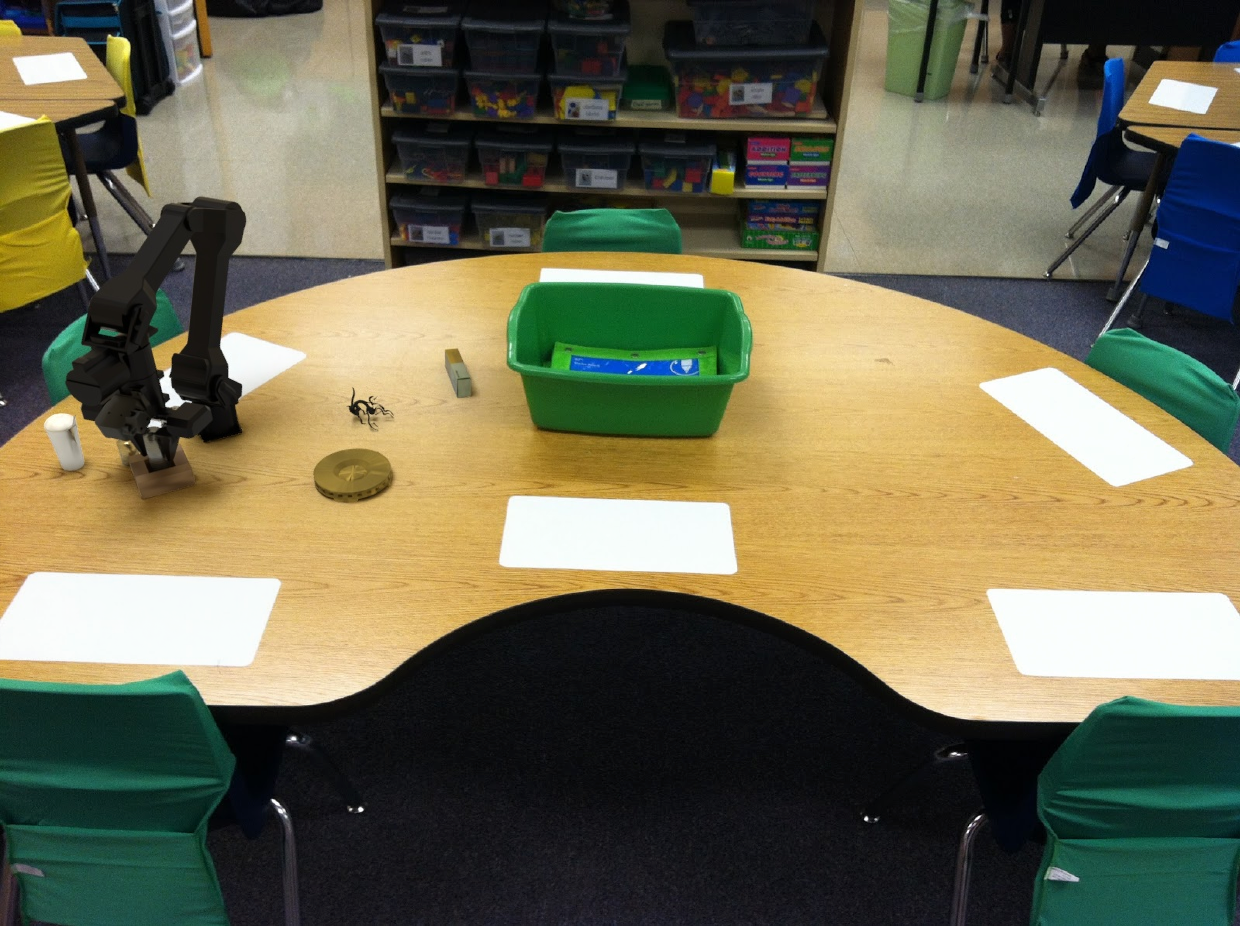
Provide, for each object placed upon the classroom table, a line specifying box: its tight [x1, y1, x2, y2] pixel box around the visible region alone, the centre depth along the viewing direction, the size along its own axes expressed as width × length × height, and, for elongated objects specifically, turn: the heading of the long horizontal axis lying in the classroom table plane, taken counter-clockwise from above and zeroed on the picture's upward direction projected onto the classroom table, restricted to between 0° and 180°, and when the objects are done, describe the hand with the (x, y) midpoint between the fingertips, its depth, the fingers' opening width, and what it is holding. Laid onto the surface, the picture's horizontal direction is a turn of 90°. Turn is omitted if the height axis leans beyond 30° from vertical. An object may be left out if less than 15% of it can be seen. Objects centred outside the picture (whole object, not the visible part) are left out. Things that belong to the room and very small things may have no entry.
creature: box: [346, 387, 395, 431], centre depth 180 cm, size 8×5×8 cm
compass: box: [313, 448, 393, 503], centre depth 166 cm, size 12×12×2 cm
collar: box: [128, 443, 197, 500], centre depth 164 cm, size 8×8×3 cm
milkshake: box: [43, 413, 85, 472], centre depth 163 cm, size 4×5×10 cm
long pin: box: [142, 425, 171, 472], centre depth 162 cm, size 3×3×9 cm
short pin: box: [116, 439, 140, 468], centre depth 167 cm, size 3×3×4 cm
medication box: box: [444, 348, 472, 399], centre depth 192 cm, size 12×3×4 cm, turn 19°
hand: (158, 457), depth 162 cm, fingers open, 4 cm apart
